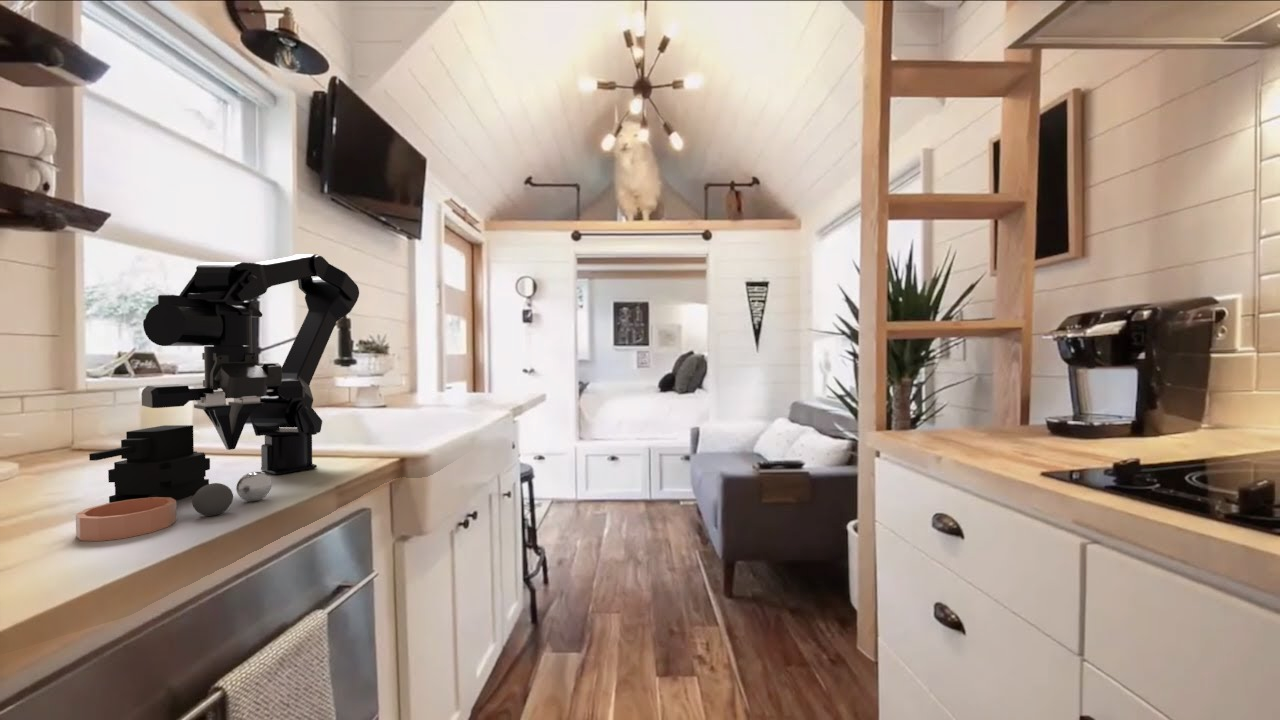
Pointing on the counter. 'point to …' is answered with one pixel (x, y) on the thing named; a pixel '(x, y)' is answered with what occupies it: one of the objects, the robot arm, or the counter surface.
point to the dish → (125, 518)
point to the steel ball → (254, 486)
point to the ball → (212, 499)
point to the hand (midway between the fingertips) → (230, 449)
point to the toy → (156, 464)
